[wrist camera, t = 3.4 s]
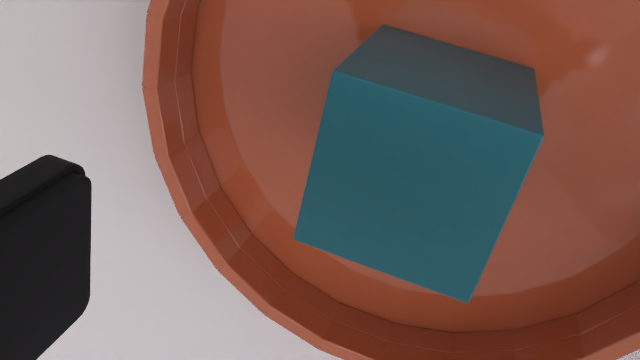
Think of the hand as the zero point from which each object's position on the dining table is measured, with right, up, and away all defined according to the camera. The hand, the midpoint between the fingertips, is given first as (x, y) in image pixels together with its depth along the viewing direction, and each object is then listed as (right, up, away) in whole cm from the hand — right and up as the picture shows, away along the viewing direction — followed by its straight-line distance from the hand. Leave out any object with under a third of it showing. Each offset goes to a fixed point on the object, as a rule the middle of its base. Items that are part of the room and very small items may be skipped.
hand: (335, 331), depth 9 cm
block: (+4, +5, +10) cm, 12 cm away
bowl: (+4, +5, +11) cm, 12 cm away
